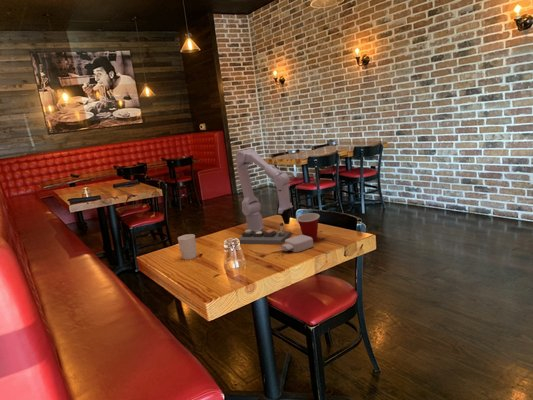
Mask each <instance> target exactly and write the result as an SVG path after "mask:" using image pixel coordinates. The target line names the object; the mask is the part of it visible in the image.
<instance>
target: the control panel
mask: <svg viewBox="0 0 533 400" xmlns="http://www.w3.org/2000/svg"><path fill="white" fill-rule="evenodd" d="M261 231H262V233H261V234H256V232H257V231H251V233H250V234H245V231H244V232H242V233H241V236H239V237H238V238H237V239H239V240H240V243H241V244H243V245H246V244H247V245H283V243H284V244H285V240H286V239H289V238H291V236H292V231H290V230H289V231H287V230H286V231H284V230H282V233H280V230H278V231H277V230H273V233H272V234H267V232H266V230H261ZM241 244H240V245H241Z"/></svg>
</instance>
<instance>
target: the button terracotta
mask: <svg viewBox="0 0 533 400" xmlns="http://www.w3.org/2000/svg"><path fill="white" fill-rule="evenodd" d="M265 231H266V232H267V234H272V233H273V231H274V229H272V228H270V229H267V230H265Z"/></svg>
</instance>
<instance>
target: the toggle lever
mask: <svg viewBox="0 0 533 400" xmlns="http://www.w3.org/2000/svg"><path fill="white" fill-rule="evenodd" d="M279 227H280V228H279V229H280V230H279V231H280V233H282V231H283V227H284V222H280V223H279Z"/></svg>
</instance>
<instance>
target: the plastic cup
mask: <svg viewBox="0 0 533 400" xmlns="http://www.w3.org/2000/svg"><path fill="white" fill-rule="evenodd" d="M319 219H320V214H319V213H315V212H314V213H312V212H311V213H304V214H301V215H297V217H296V220H297V222H298V224H299V226H300V231H301V235H305V236H309V237H311V238H312V239H313V243H314V242H316V241H317V239H318V228H319V227H318V226H319Z"/></svg>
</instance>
